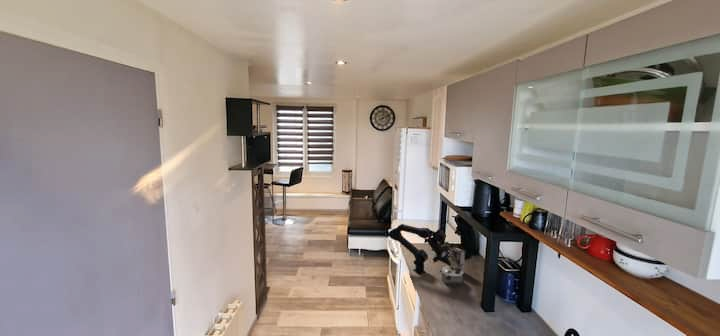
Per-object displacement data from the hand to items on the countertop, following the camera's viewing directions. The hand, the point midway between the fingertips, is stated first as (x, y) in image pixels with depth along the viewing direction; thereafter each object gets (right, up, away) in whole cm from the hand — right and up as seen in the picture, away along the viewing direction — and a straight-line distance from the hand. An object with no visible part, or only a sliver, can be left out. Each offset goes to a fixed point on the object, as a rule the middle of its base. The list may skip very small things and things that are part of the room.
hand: (450, 265), depth 192 cm
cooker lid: (+1, -4, 0) cm, 5 cm away
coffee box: (+9, -9, +14) cm, 19 cm away
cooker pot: (+1, -11, +1) cm, 11 cm away
